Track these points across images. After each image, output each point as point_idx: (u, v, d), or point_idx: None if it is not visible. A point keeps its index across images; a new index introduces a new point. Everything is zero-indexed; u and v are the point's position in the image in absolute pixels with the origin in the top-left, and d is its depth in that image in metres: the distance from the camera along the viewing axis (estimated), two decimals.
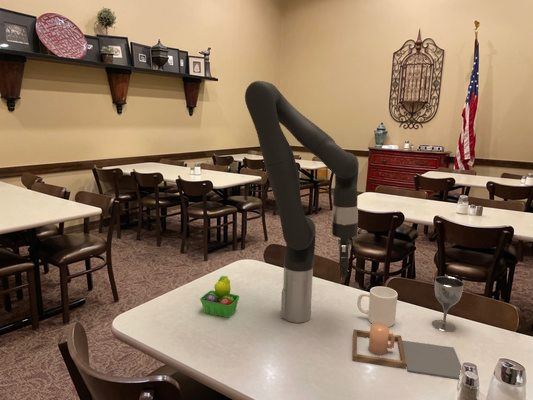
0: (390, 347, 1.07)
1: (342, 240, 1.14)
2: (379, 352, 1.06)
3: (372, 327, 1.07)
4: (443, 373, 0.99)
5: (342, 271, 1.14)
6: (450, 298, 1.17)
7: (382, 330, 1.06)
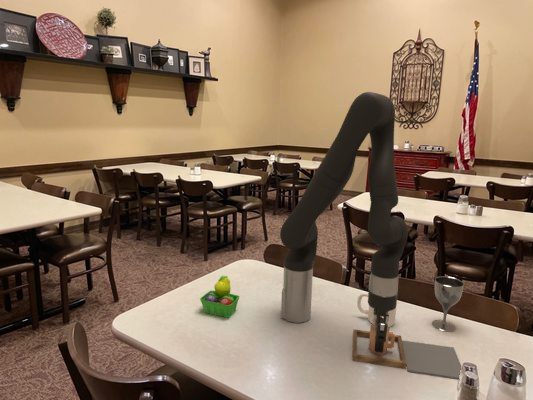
0: (390, 347, 1.07)
1: (380, 313, 1.03)
2: (379, 352, 1.06)
3: (372, 327, 1.07)
4: (443, 373, 0.99)
5: (378, 346, 1.05)
6: (450, 298, 1.17)
7: None
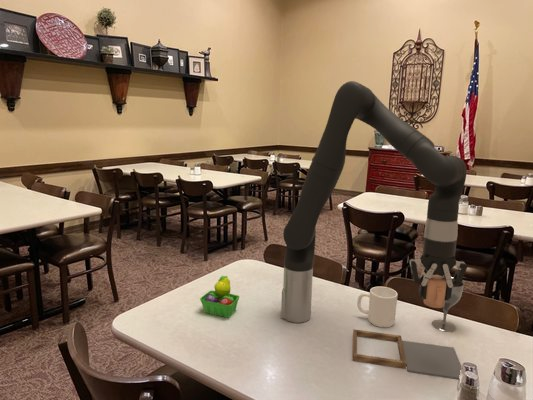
0: (435, 303, 0.98)
1: (422, 254, 1.00)
2: (424, 300, 1.01)
3: (432, 275, 1.02)
4: (443, 373, 0.99)
5: (419, 290, 1.01)
6: (450, 298, 1.17)
7: (431, 279, 0.99)
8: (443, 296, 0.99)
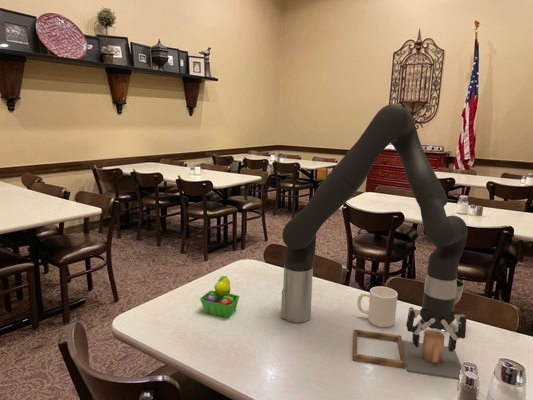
0: (432, 359, 1.01)
1: (422, 307, 1.03)
2: (422, 354, 1.05)
3: (431, 330, 1.05)
4: (443, 373, 0.99)
5: None
6: None
7: (429, 335, 1.03)
8: (440, 353, 1.02)
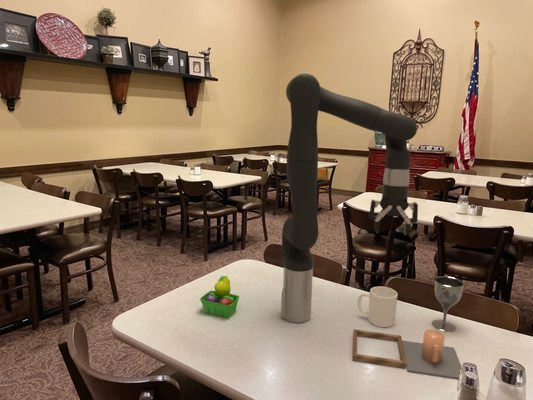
0: (432, 359, 1.01)
1: None
2: (422, 354, 1.05)
3: (431, 330, 1.05)
4: (443, 373, 0.99)
5: (374, 226, 1.24)
6: (450, 298, 1.17)
7: (429, 335, 1.03)
8: (440, 353, 1.02)
